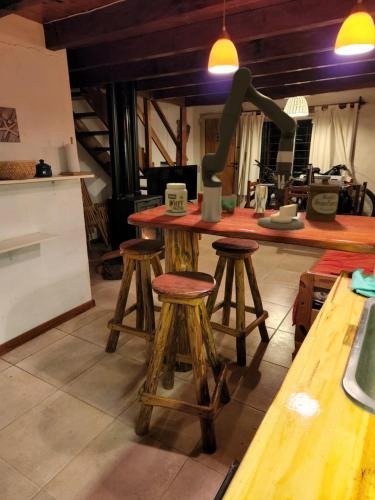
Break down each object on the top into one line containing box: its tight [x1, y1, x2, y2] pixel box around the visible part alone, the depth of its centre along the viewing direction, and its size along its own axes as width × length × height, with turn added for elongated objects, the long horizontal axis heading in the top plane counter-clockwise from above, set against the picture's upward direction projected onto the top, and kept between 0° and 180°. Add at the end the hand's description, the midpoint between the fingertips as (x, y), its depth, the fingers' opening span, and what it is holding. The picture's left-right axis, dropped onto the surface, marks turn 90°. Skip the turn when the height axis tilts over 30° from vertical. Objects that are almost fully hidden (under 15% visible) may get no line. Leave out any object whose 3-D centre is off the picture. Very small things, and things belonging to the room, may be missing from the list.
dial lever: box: [270, 203, 299, 223], centre depth 157 cm, size 18×10×7 cm, turn 132°
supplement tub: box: [164, 182, 188, 217], centre depth 177 cm, size 12×12×17 cm
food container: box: [221, 193, 238, 214], centre depth 184 cm, size 12×6×10 cm, turn 143°
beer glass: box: [254, 185, 268, 214], centre depth 184 cm, size 7×7×15 cm
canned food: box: [197, 190, 203, 212], centre depth 190 cm, size 8×8×11 cm
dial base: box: [257, 216, 305, 231], centre depth 156 cm, size 22×22×2 cm
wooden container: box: [305, 176, 341, 223], centre depth 167 cm, size 15×15×22 cm
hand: (281, 196), depth 162 cm, fingers closed
